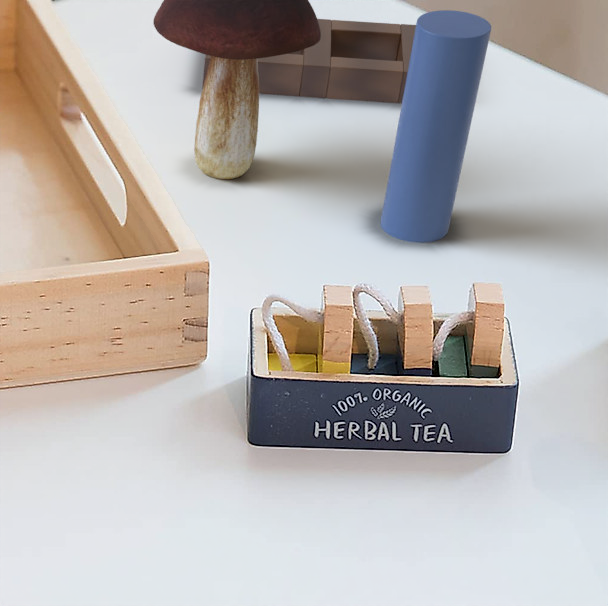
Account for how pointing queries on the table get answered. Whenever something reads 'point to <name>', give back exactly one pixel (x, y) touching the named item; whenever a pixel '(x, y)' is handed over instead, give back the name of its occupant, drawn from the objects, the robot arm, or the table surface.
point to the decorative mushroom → (234, 67)
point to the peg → (434, 124)
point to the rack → (342, 64)
